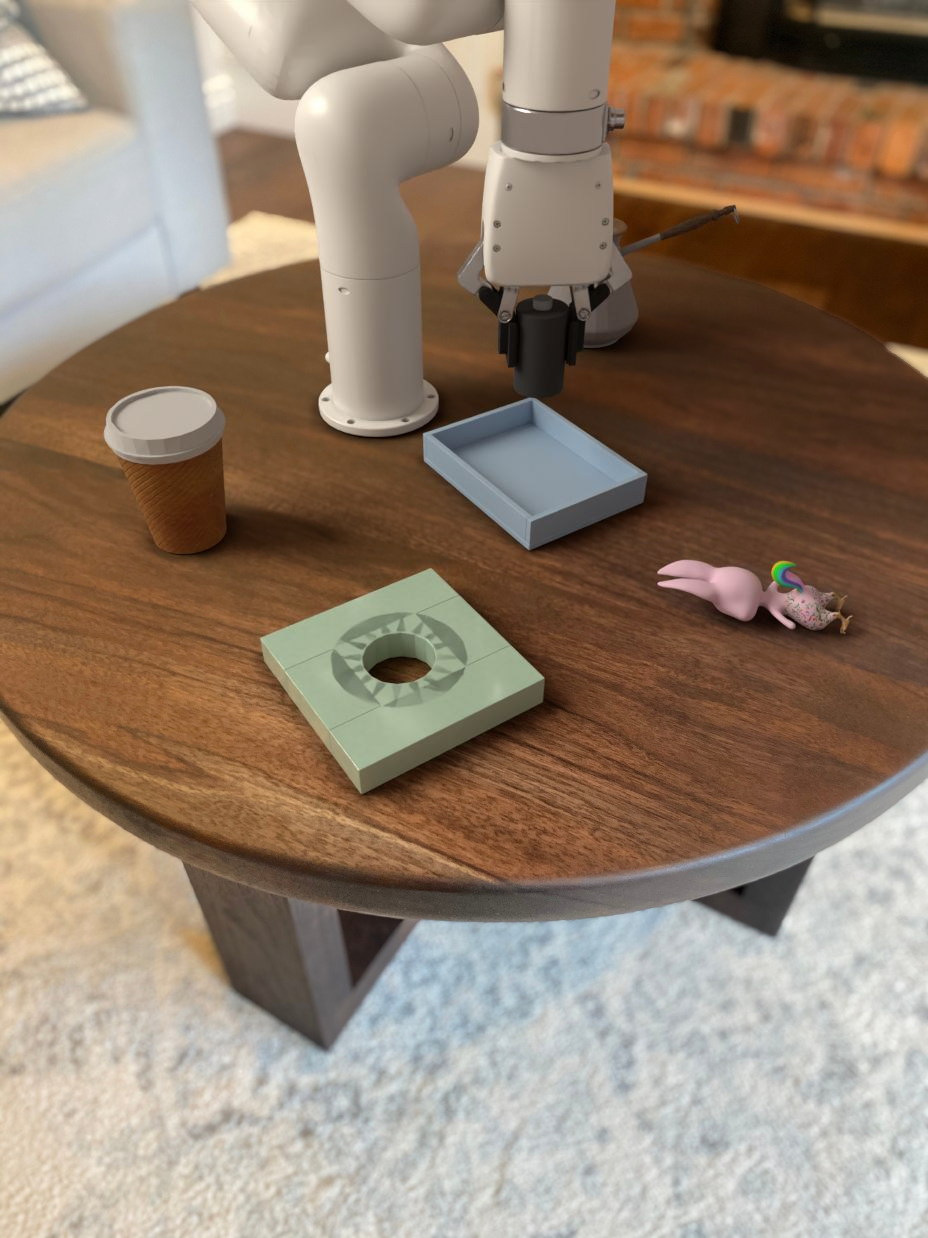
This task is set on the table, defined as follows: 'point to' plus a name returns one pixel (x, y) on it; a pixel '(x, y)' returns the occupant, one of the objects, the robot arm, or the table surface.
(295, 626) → the drain plate
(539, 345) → the plug
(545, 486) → the tray
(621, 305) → the coffee pot
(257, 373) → the table surface
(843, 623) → the rabbit figure
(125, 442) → the disposable coffee cup
